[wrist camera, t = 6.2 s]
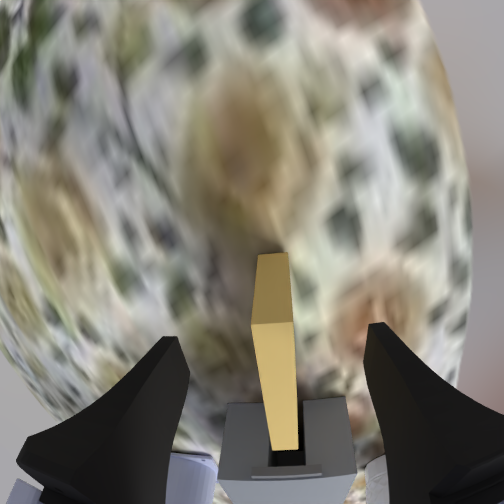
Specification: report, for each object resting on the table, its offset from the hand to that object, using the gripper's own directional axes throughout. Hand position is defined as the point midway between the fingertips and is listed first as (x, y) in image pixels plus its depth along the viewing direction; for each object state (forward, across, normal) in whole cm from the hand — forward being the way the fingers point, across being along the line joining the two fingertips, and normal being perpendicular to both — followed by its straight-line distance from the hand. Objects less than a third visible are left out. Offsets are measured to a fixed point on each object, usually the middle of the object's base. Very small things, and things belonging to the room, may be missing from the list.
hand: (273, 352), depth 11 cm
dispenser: (+6, 0, +16) cm, 17 cm away
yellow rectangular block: (+6, 0, +4) cm, 7 cm away
